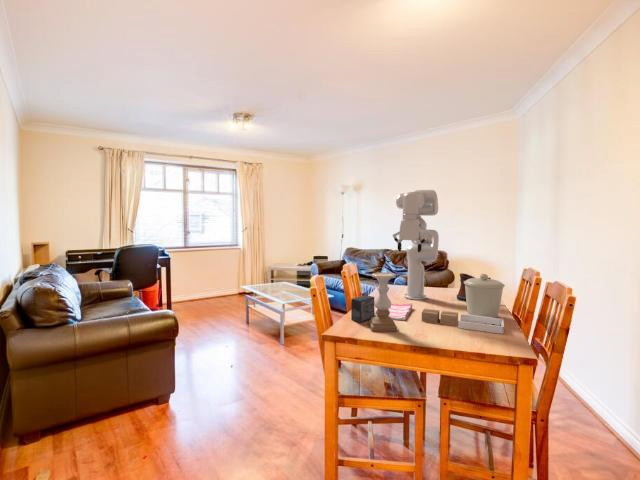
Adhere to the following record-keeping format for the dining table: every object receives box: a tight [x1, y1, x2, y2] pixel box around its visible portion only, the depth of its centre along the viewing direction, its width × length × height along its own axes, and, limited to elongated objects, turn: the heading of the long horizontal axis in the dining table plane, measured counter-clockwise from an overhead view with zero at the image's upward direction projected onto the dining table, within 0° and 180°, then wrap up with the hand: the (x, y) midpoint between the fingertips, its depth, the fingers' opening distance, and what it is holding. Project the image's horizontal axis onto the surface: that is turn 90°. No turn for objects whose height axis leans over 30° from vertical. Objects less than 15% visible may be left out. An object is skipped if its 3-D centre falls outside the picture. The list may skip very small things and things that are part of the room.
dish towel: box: [374, 303, 413, 322], centre depth 179 cm, size 17×23×4 cm
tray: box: [457, 313, 505, 335], centre depth 157 cm, size 13×18×3 cm
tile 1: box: [421, 308, 441, 324], centre depth 166 cm, size 7×7×4 cm
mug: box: [456, 272, 492, 302], centre depth 203 cm, size 18×12×15 cm, turn 56°
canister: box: [464, 273, 506, 318], centre depth 171 cm, size 18×18×21 cm
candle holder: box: [368, 271, 398, 333], centre depth 155 cm, size 11×11×24 cm
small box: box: [350, 294, 375, 324], centre depth 168 cm, size 11×6×10 cm, turn 135°
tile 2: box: [439, 310, 459, 327], centre depth 163 cm, size 7×7×4 cm
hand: (409, 251), depth 179 cm, fingers open, 9 cm apart
